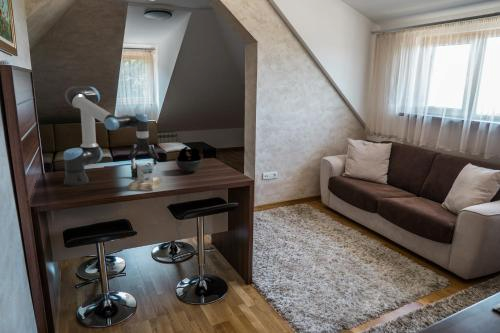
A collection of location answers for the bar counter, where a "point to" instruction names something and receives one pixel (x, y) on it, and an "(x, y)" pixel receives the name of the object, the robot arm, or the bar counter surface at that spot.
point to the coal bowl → (188, 160)
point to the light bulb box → (145, 172)
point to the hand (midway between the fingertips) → (144, 169)
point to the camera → (135, 171)
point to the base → (145, 184)
